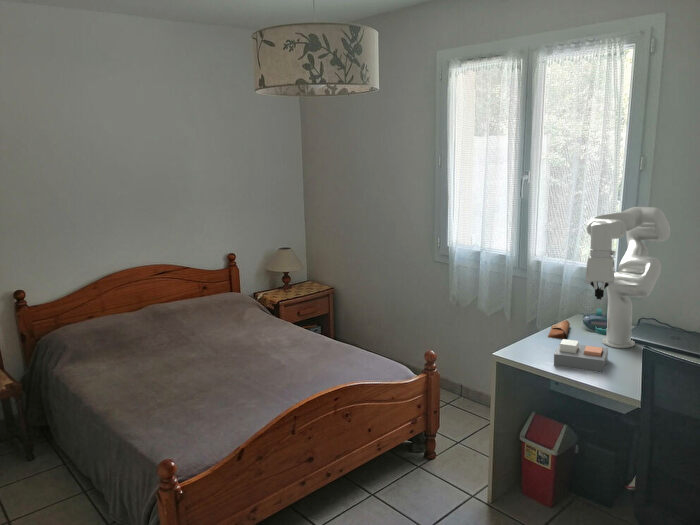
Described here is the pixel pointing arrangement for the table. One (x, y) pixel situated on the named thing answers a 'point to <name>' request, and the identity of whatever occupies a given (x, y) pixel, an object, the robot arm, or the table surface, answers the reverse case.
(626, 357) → the table surface
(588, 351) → the orange square block
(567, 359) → the key console
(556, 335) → the sunglasses case
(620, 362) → the table surface
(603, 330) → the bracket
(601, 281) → the robot arm
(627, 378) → the table surface
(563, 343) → the offwhite key
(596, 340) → the table surface
